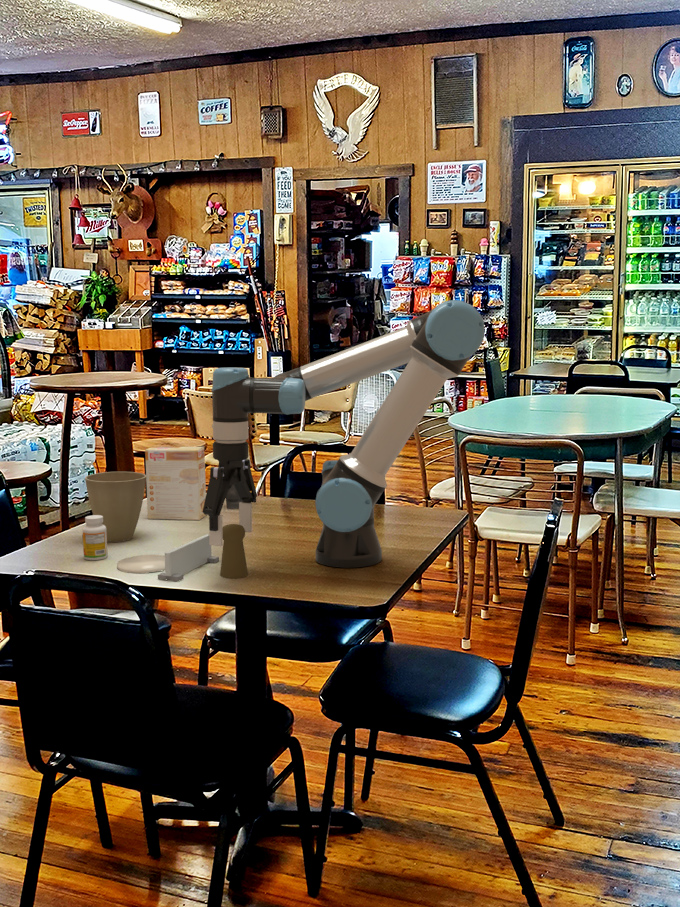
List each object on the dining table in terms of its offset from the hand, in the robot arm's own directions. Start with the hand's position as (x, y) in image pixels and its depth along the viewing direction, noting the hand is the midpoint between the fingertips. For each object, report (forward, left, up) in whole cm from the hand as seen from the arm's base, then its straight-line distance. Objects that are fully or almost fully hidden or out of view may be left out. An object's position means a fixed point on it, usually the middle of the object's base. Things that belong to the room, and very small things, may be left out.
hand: (231, 538), depth 207 cm
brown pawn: (0, 0, -8) cm, 8 cm away
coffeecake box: (+42, -47, -8) cm, 63 cm away
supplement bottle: (+37, -2, -8) cm, 38 cm away
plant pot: (+43, -20, -8) cm, 48 cm away
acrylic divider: (+11, 0, -8) cm, 13 cm away
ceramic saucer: (+22, 0, -8) cm, 23 cm away
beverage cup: (+33, -64, -8) cm, 72 cm away
